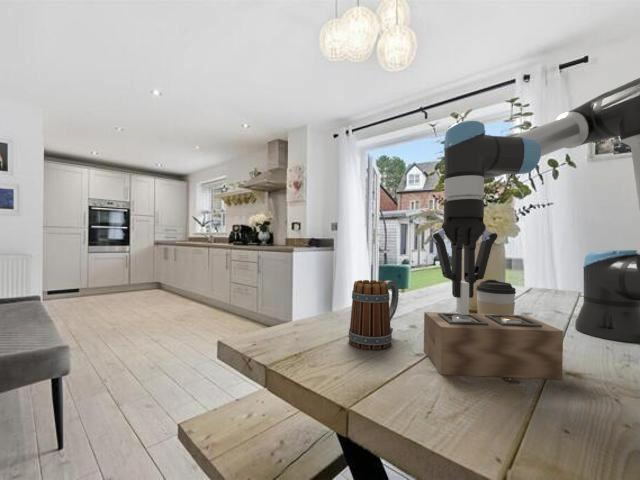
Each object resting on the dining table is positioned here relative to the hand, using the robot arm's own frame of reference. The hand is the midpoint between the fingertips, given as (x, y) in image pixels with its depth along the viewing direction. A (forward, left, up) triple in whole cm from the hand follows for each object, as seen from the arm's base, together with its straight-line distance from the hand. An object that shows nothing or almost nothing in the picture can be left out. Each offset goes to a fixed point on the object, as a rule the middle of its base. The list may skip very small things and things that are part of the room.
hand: (462, 313), depth 64 cm
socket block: (-5, 0, -10) cm, 11 cm away
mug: (+16, -12, -11) cm, 23 cm away
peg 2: (-10, 0, -9) cm, 14 cm away
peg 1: (0, 0, -9) cm, 9 cm away
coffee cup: (-15, -17, -11) cm, 25 cm away
